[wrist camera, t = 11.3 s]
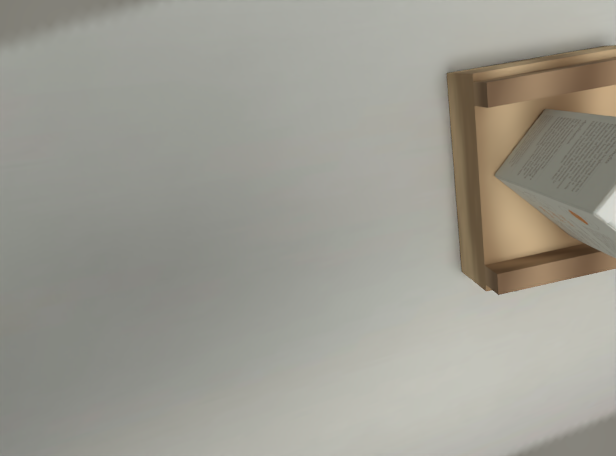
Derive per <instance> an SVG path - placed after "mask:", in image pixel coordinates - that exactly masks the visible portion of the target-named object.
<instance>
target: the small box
mask: <svg viewBox="0 0 616 456" xmlns="http://www.w3.org/2000/svg"><path fill="white" fill-rule="evenodd" d="M495 177H496V178H497V179H499V180H500V181H501V182H503V183H504V184H505V185H506V186H508V187H509V188H510V189H512V190H513V191H514V192H515V193H517V194H518V195H519V196H520V197H522V198H523V199H524V200H526V201H527V202H528V203H529V204H531V205H532V206H533V207H534V208H536V209H537V210H538V211H540V212H541V213H542V214H543V215H545V216H546V217H547V218H548V219H550V220H551V221H552V222H554V223H555V224H556V225H557V226H559V227H560V228H561V229H562V230H564V231H565V232H566V233H567V234H568V235H570V236H571V237H573V238H575V239H577V240H579V241H581V242H583V243H585V244H587V245H589V246H591V247H593V248H595V249H597V250H599V251H601V252H603V253H605V254H608V255H610V256H612V257H614V258H616V117H614V116H604V115H596V114H588V113H579V112H570V111H561V110H553V109H545V110H544V111H543V112H542V114H541V115H540V116H539V118H538V119H537V120H536V121H535V123H534V124H533V125H532V127H531V128H530V129H529V130H528V132H527V133H526V134H525V136H524V137H523V138H522V139H521V141H520V142H519V143H518V145H517V146H516V147H515V149H514V150H513V151H512V153H511V154H510V155H509V156H508V158H507V159H506V160H505V162H504V163H503V164H502V166H501V167H500V168H499V170H498V171H497V172H496V173H495Z"/></svg>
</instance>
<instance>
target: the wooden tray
mask: <svg viewBox="0 0 616 456" xmlns="http://www.w3.org/2000/svg"><path fill="white" fill-rule="evenodd" d="M447 84H448V97H449V110H450V123H451V136H452V149H453V162H454V175H455V189H456V202H457V215H458V228H459V241H460V254H461V267H462V272H463V273H464V274H465V275H467V276H468V277H469V278H470V279H472V280H473V281H474V282H475V283H477V284H478V285H479V286H480V287H482V288H483V289H484V290H485V291H490V290H493V291H494V292H496V293H497V294H498V295H500V294H504V293H508V292H513V291H517V290H522V289H526V288H531V287H535V286H540V285H544V284H549V283H553V282H558V281H562V280H566V279H571V278H575V277H580V276H584V275H589V274H593V273H598V272H602V271H607V270H611V269H616V258H614V257H612V256H610V255H608V254H605V253H603V252H601V251H599V250H597V249H595V248H593V247H591V246H589V245H587V244H585V243H583V242H581V241H579V240H577V239H575V238H573V237H571V236H570V235H568V234H567V233H566V232H565V231H564V230H562V229H561V228H560V227H559V226H557V225H556V224H555V223H554V222H552V221H551V220H550V219H548V218H547V217H546V216H545V215H543V214H542V213H541V212H540V211H538V210H537V209H536V208H534V207H533V206H532V205H531V204H529V203H528V202H527V201H526V200H524V199H523V198H522V197H520V196H519V195H518V194H517V193H515V192H514V191H513V190H512V189H510V188H509V187H508V186H506V185H505V184H504V183H503V182H501V181H500V180H499V179H497V178H496V177H495V173H496V172H497V171H498V170H499V168H500V167H501V166H502V164H503V163H504V162H505V160H506V159H507V158H508V156H509V155H510V154H511V153H512V151H513V150H514V149H515V147H516V146H517V145H518V143H519V142H520V141H521V139H522V138H523V137H524V136H525V134H526V133H527V132H528V130H529V129H530V128H531V127H532V125H533V124H534V123H535V121H536V120H537V119H538V118H539V116H540V115H541V114H542V112H543V111H544V110H545V109H553V110H561V111H570V112H579V113H588V114H596V115H604V116H614V117H616V45H615V46H602V47H596V48H590V49H584V50H579V51H573V52H567V53H561V54H555V55H550V56H544V57H538V58H532V59H526V60H521V61H515V62H509V63H503V64H497V65H492V66H486V67H480V68H474V69H468V70H463V71H457V72H451V73H447Z"/></svg>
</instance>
